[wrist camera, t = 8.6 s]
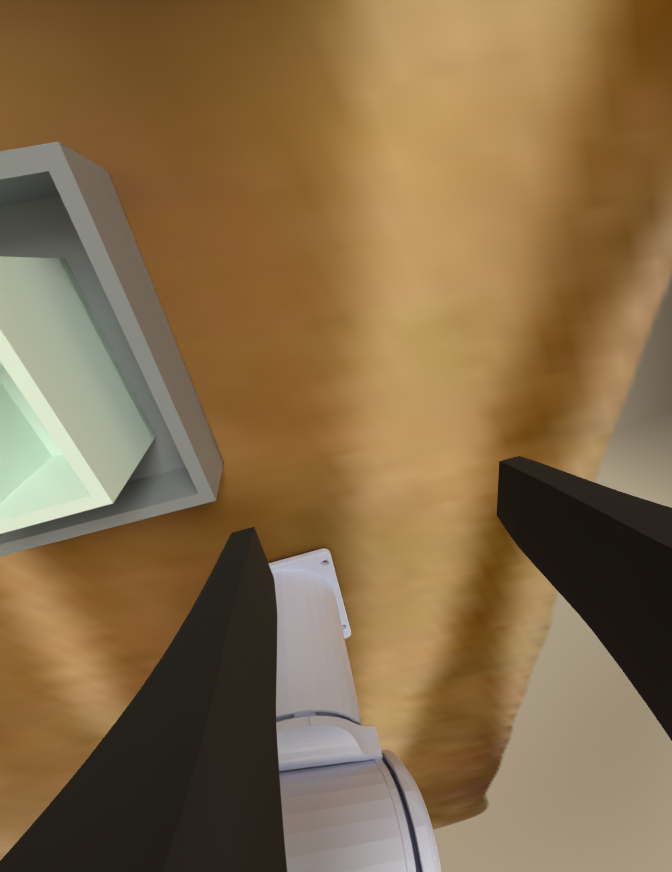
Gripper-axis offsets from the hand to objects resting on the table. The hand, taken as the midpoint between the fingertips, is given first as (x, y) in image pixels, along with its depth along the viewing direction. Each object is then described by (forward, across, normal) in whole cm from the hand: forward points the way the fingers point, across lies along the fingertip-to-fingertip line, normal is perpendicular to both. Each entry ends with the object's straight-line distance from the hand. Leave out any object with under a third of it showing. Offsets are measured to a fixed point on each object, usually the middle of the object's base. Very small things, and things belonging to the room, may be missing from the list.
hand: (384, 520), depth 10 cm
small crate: (+9, +11, -4) cm, 15 cm away
